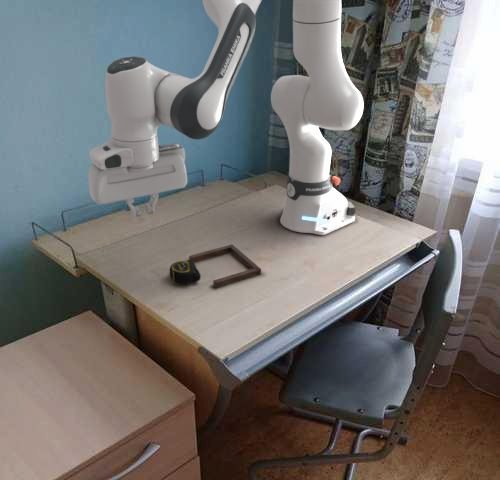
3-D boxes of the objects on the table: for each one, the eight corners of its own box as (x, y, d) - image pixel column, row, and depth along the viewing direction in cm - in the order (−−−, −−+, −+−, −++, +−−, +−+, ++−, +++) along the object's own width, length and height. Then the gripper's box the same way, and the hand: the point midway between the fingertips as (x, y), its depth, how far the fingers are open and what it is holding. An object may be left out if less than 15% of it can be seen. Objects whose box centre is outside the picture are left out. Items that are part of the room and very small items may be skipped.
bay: (232, 249, 137) (232, 244, 136) (261, 274, 127) (261, 268, 126) (189, 261, 131) (188, 255, 130) (215, 288, 121) (215, 282, 120)
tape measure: (201, 285, 122) (201, 271, 120) (173, 289, 121) (172, 275, 118) (195, 270, 128) (194, 257, 125) (167, 274, 126) (166, 261, 124)
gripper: (177, 137, 108) (181, 199, 116) (80, 152, 99) (92, 218, 107) (190, 146, 103) (193, 209, 112) (90, 163, 95) (101, 230, 103)
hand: (143, 214), depth 109 cm, fingers closed
